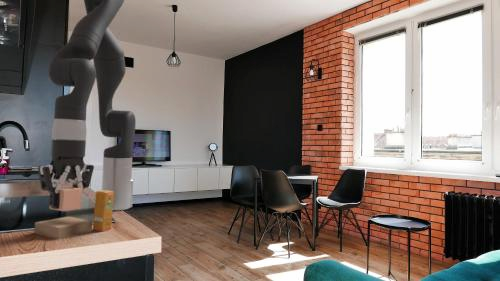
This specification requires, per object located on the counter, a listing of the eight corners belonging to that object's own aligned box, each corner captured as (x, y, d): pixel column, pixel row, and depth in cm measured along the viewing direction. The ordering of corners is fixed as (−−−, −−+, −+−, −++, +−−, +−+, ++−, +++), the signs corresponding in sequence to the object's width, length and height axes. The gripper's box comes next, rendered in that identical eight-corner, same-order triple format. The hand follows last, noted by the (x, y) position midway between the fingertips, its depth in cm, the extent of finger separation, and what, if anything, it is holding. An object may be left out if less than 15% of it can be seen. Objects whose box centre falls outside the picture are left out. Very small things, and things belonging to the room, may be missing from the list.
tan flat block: (68, 227, 93) (68, 216, 93) (91, 232, 89) (92, 221, 89) (34, 234, 85) (34, 222, 85) (58, 241, 81) (59, 227, 81)
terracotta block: (68, 206, 90) (69, 186, 90) (81, 208, 88) (82, 188, 88) (49, 208, 86) (50, 188, 86) (63, 211, 83) (64, 190, 83)
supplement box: (103, 231, 89) (105, 192, 89) (92, 230, 90) (94, 191, 90) (112, 228, 92) (114, 190, 92) (101, 227, 93) (103, 189, 93)
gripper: (83, 139, 95) (80, 201, 95) (31, 136, 82) (26, 209, 82) (103, 139, 92) (100, 204, 91) (51, 137, 79) (47, 213, 79)
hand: (65, 206), depth 87 cm, fingers closed on terracotta block, 5 cm apart
